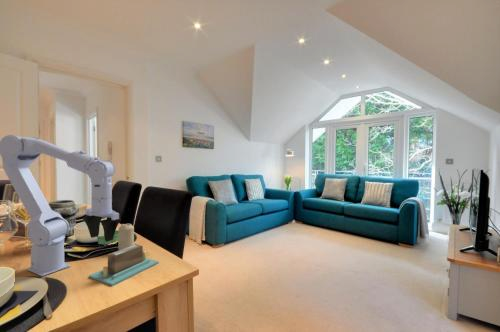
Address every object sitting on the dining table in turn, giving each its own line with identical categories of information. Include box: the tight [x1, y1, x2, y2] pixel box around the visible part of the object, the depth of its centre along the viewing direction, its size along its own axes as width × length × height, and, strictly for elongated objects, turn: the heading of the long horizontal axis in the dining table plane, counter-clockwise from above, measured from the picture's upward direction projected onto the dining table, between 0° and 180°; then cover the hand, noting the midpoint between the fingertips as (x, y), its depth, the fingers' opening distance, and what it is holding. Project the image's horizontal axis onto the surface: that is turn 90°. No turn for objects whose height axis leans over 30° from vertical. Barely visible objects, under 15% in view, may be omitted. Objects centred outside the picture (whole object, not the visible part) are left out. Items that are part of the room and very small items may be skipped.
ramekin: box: [96, 229, 118, 245], centre depth 102 cm, size 9×9×4 cm
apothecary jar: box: [48, 199, 80, 243], centre depth 100 cm, size 12×12×18 cm
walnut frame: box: [107, 243, 144, 275], centre depth 78 cm, size 4×10×6 cm, turn 154°
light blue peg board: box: [88, 250, 159, 287], centre depth 78 cm, size 11×17×4 cm, turn 154°
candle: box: [117, 223, 135, 251], centre depth 96 cm, size 6×6×10 cm
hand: (101, 238), depth 79 cm, fingers open, 7 cm apart
